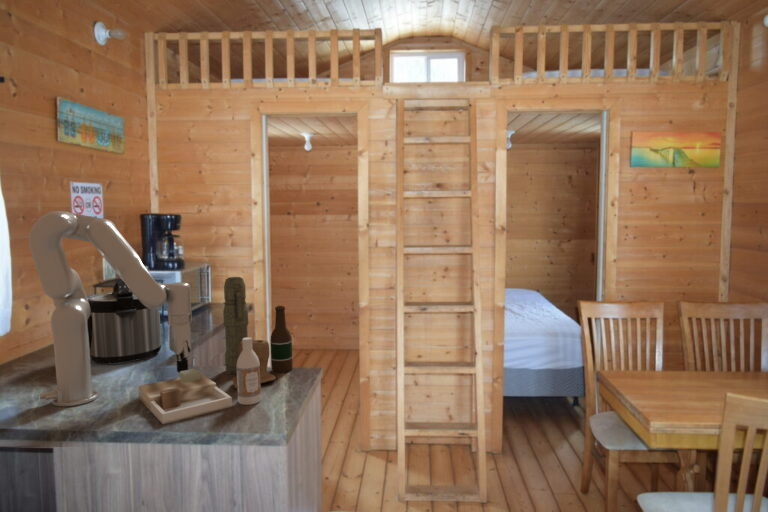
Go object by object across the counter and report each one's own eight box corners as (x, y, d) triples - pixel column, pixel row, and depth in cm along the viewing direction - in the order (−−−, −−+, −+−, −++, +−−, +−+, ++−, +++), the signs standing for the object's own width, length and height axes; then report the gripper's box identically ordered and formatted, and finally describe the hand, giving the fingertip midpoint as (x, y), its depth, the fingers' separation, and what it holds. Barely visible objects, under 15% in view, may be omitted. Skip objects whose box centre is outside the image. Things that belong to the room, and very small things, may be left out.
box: (163, 424, 143) (162, 414, 143) (150, 411, 153) (150, 401, 153) (232, 407, 156) (231, 397, 156) (216, 395, 166) (216, 386, 166)
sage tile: (184, 382, 167) (184, 375, 167) (180, 378, 171) (179, 371, 171) (200, 379, 170) (199, 372, 170) (195, 375, 174) (194, 368, 174)
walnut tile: (161, 407, 155) (163, 409, 153) (160, 391, 155) (162, 393, 153) (178, 403, 158) (180, 405, 156) (177, 387, 158) (180, 389, 156)
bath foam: (242, 407, 155) (239, 342, 154) (235, 400, 161) (232, 337, 160) (264, 402, 159) (261, 338, 158) (256, 395, 165) (254, 334, 163)
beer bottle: (283, 365, 198) (281, 303, 196) (296, 369, 193) (295, 305, 191) (267, 370, 192) (264, 306, 190) (280, 374, 187) (278, 309, 185)
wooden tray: (150, 411, 154) (149, 398, 153) (139, 398, 164) (138, 386, 164) (216, 395, 166) (216, 383, 166) (201, 384, 177) (201, 373, 177)
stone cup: (265, 374, 187) (264, 334, 186) (279, 383, 177) (278, 340, 176) (224, 383, 178) (222, 340, 177) (237, 392, 168) (235, 347, 167)
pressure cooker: (113, 347, 230) (109, 276, 227) (175, 347, 228) (171, 276, 226) (68, 367, 200) (63, 286, 197) (138, 367, 198) (134, 286, 196)
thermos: (233, 376, 185) (229, 280, 182) (220, 369, 194) (216, 277, 191) (256, 371, 190) (252, 278, 187) (242, 364, 200) (239, 275, 197)
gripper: (162, 317, 178) (164, 368, 180) (175, 324, 167) (178, 379, 168) (184, 314, 183) (186, 364, 185) (198, 320, 171) (201, 374, 173)
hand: (182, 371), depth 176 cm, fingers closed
